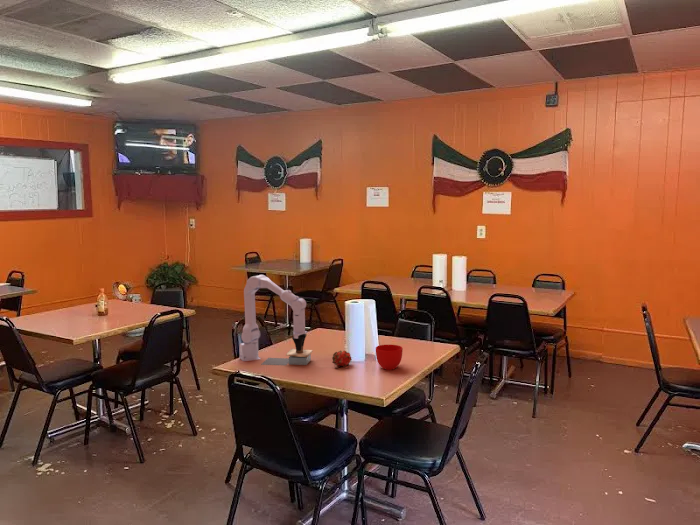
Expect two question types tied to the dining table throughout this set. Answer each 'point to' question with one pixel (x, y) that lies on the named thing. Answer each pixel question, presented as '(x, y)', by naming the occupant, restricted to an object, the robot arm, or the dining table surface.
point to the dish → (299, 360)
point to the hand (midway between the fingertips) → (299, 349)
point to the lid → (299, 352)
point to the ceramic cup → (389, 356)
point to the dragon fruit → (341, 358)
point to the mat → (276, 361)
